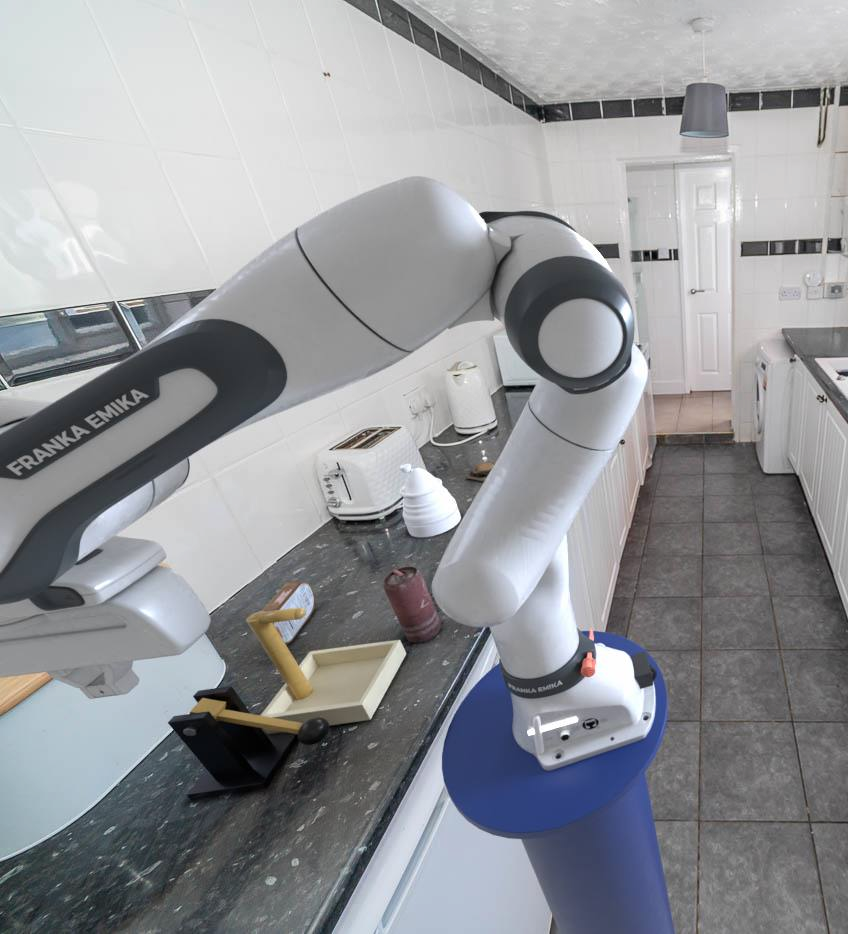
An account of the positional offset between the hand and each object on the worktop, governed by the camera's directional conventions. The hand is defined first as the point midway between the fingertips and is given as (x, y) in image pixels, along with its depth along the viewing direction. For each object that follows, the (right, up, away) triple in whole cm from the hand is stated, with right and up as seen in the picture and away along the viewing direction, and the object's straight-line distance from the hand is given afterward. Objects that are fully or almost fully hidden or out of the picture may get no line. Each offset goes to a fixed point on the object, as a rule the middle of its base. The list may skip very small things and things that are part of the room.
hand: (116, 690), depth 46 cm
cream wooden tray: (-6, -17, +37) cm, 41 cm away
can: (+2, -11, +48) cm, 49 cm away
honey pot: (-16, +6, +85) cm, 86 cm away
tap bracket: (-11, -23, +25) cm, 36 cm away
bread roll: (-13, +19, +111) cm, 113 cm away
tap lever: (-7, -16, +23) cm, 29 cm away
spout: (-9, -17, +36) cm, 41 cm away
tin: (-25, -11, +51) cm, 58 cm away
